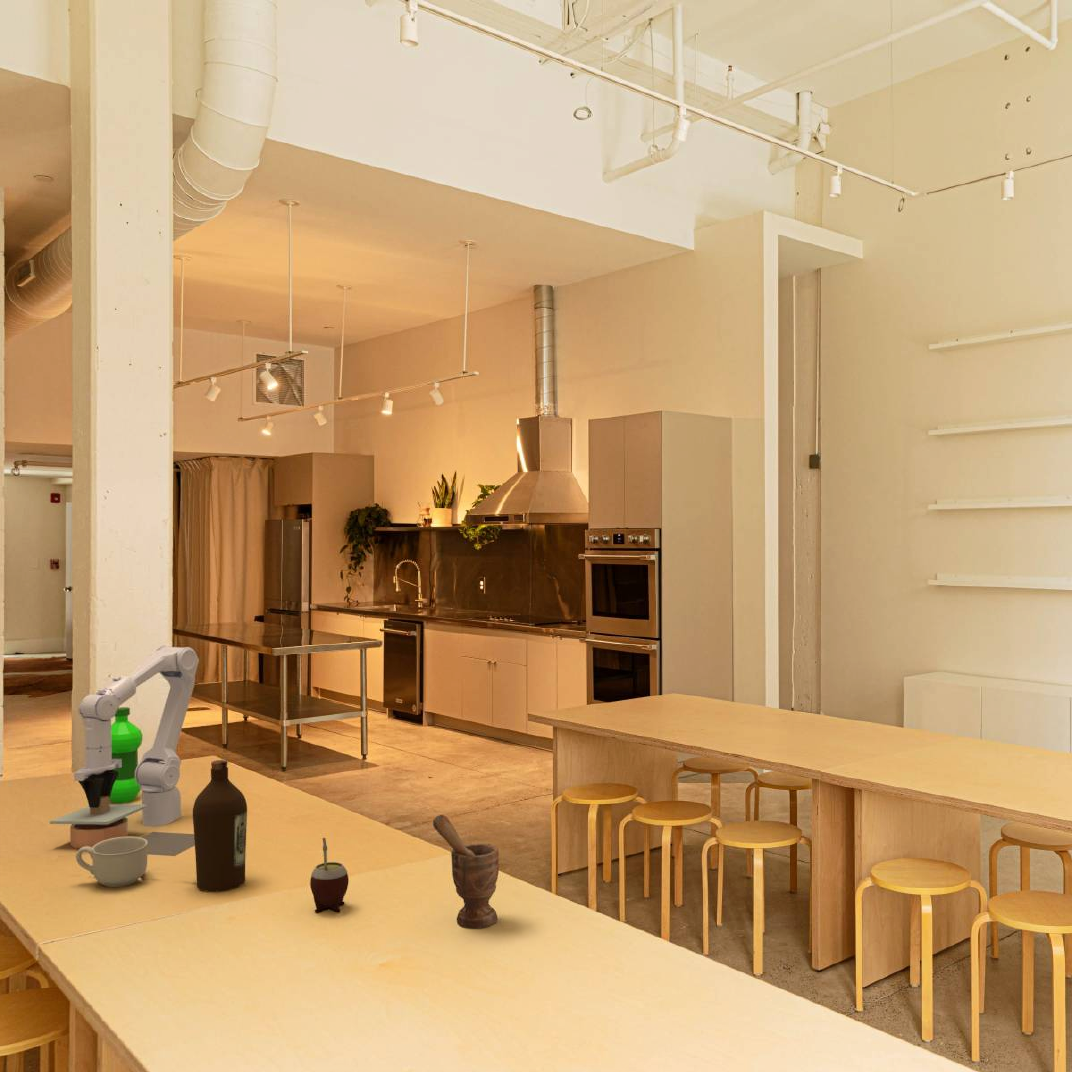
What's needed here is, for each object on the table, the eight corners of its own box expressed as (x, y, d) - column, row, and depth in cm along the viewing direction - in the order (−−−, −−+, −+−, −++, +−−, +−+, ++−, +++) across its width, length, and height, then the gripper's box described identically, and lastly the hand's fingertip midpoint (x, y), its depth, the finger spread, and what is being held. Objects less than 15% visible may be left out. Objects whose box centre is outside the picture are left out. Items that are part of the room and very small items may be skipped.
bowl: (93, 835, 247) (93, 814, 247) (138, 838, 244) (137, 817, 244) (59, 850, 235) (59, 828, 235) (105, 853, 232) (105, 831, 232)
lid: (93, 806, 249) (92, 789, 249) (148, 807, 245) (147, 789, 245) (50, 823, 234) (49, 805, 234) (108, 824, 231) (107, 806, 231)
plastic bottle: (114, 795, 286) (113, 705, 286) (150, 796, 284) (149, 705, 284) (94, 805, 276) (92, 711, 276) (131, 805, 275) (129, 711, 275)
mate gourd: (335, 899, 200) (333, 822, 200) (358, 909, 195) (357, 829, 195) (301, 909, 195) (300, 830, 195) (324, 920, 190) (323, 838, 190)
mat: (153, 835, 246) (153, 831, 246) (213, 838, 243) (213, 835, 243) (110, 855, 231) (110, 851, 231) (174, 859, 227) (174, 855, 227)
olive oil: (186, 893, 205) (185, 767, 205) (202, 876, 215) (200, 756, 215) (240, 892, 205) (239, 766, 205) (253, 875, 216) (251, 755, 216)
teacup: (157, 874, 217) (157, 836, 217) (132, 892, 206) (131, 852, 207) (94, 873, 219) (94, 835, 219) (66, 890, 208) (65, 851, 208)
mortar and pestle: (455, 938, 180) (454, 823, 180) (428, 924, 186) (427, 814, 186) (508, 922, 187) (507, 812, 187) (481, 909, 194) (479, 803, 194)
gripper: (93, 753, 232) (93, 814, 232) (132, 740, 246) (133, 798, 246) (65, 752, 233) (66, 812, 233) (106, 740, 247) (107, 796, 247)
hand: (99, 805), depth 240 cm, fingers closed on lid, 3 cm apart
